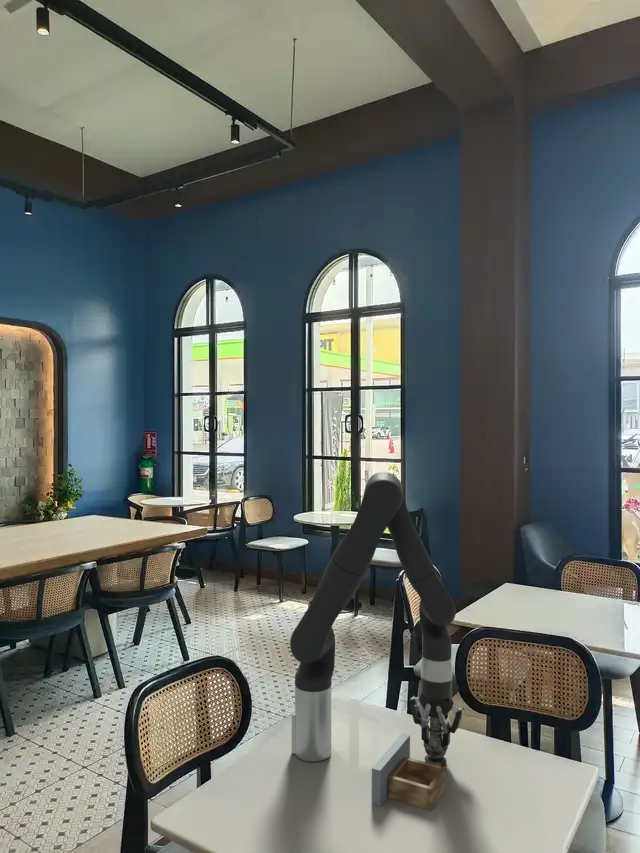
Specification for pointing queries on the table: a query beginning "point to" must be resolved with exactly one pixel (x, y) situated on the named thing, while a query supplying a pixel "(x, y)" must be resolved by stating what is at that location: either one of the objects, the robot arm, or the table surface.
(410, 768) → the socket block
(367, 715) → the table surface
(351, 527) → the robot arm
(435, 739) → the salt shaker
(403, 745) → the backstop board
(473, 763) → the table surface
